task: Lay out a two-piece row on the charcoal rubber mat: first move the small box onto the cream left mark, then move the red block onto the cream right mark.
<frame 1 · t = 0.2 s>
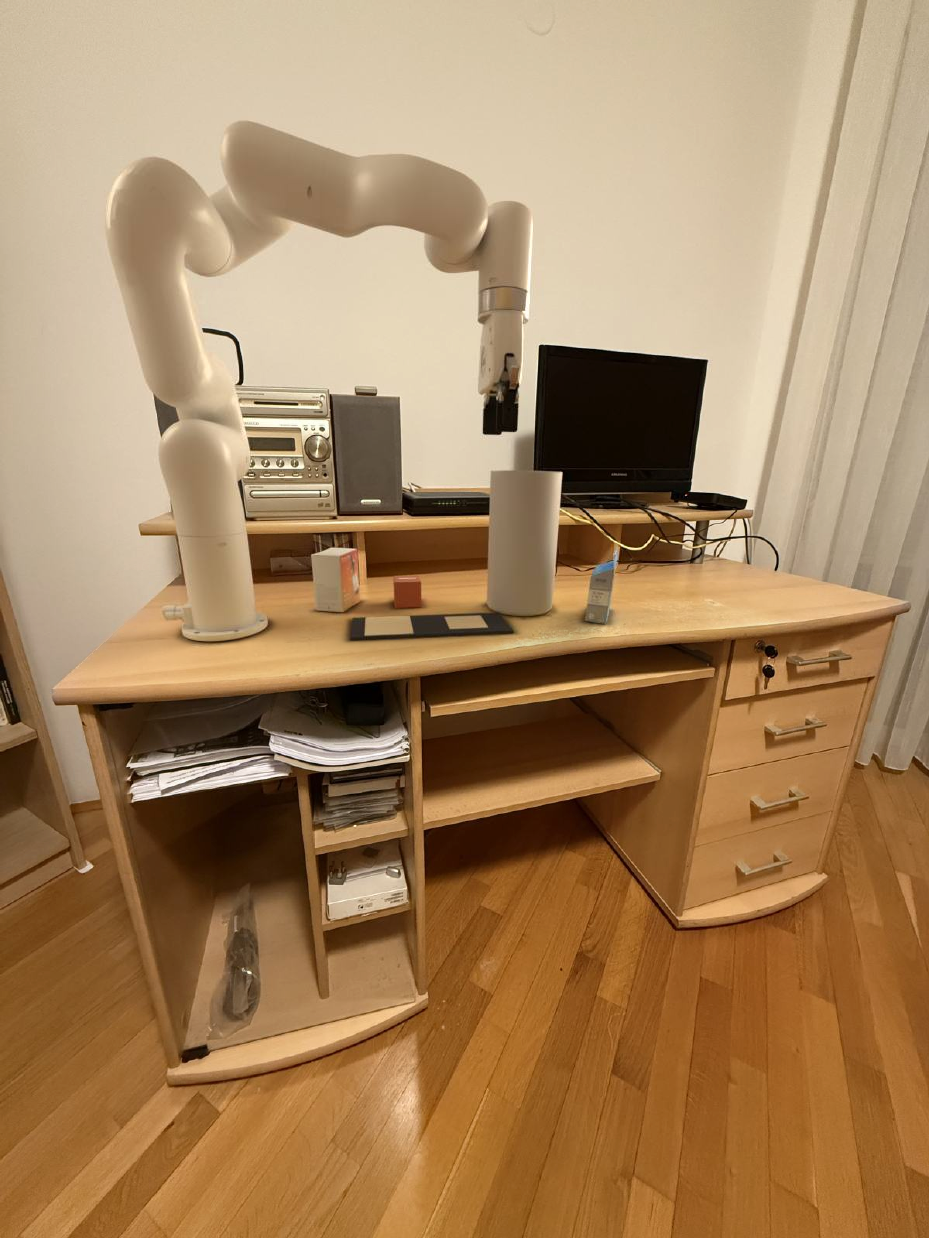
hand: (498, 433, 78), 31 cm above the table, tool pointing down, fingers open, 9 cm apart
mat: (430, 626, 82), on the table
red block: (407, 603, 95), on the table
label tape box: (598, 617, 89), on the table
small box: (338, 607, 93), on the table
cylinder vase: (519, 608, 94), on the table
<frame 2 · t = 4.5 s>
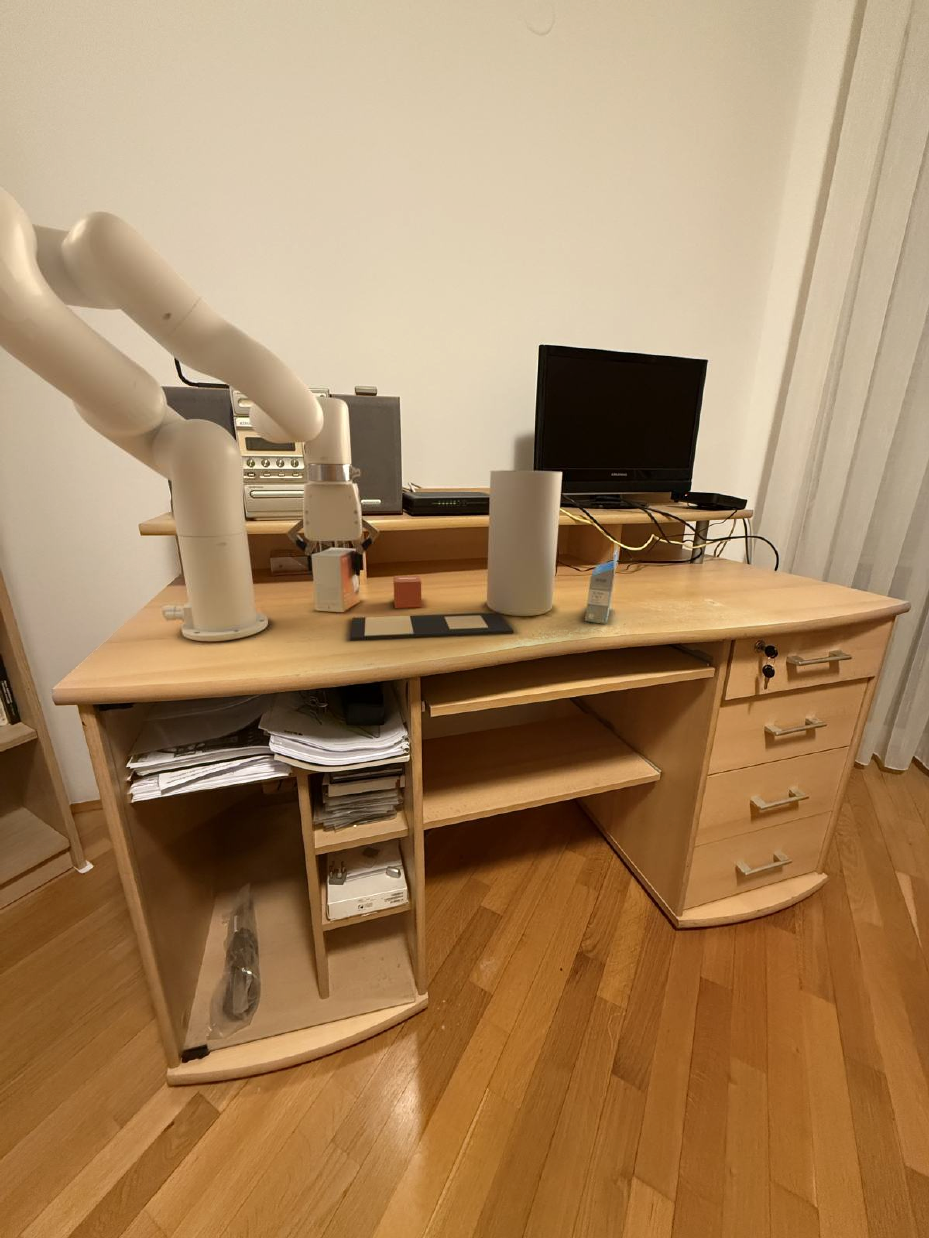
hand: (336, 574, 91), 6 cm above the table, tool pointing down, fingers closed on small box, 7 cm apart
small box: (338, 607, 93), on the table, touching gripper
everything else where it was.
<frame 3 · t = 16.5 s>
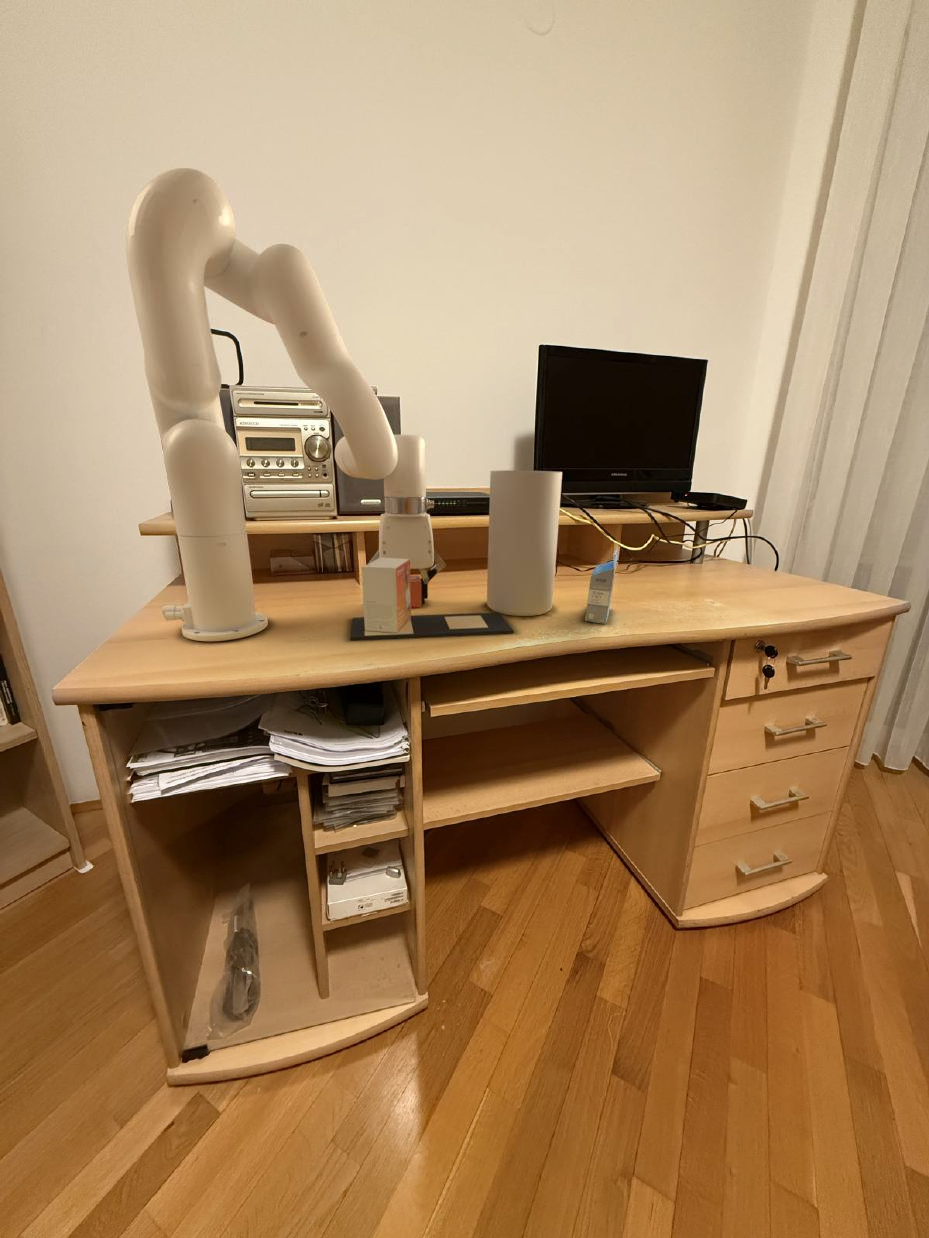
hand: (407, 601, 95), 0 cm above the table, tool pointing down, fingers closed on red block, 5 cm apart
red block: (407, 603, 95), on the table, touching gripper
small box: (389, 625, 81), resting on mat
everything else where it was.
when the fingers open (1 cm above the table, at t = 23.7 s): red block stays where it is, resting on mat.
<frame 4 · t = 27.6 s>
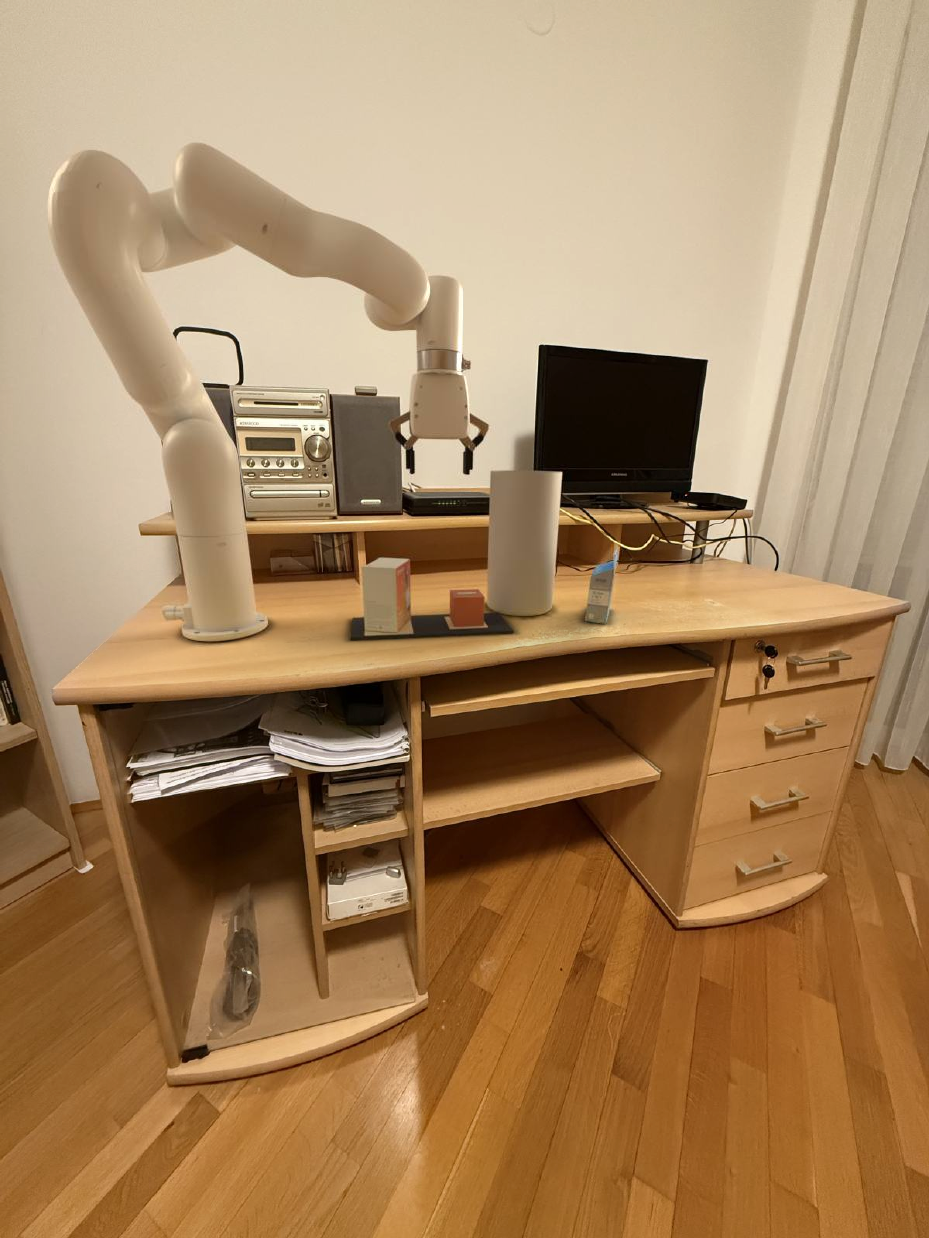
hand: (439, 474, 86), 24 cm above the table, tool pointing down, fingers open, 9 cm apart
red block: (466, 621, 83), point 1 cm above the table, touching mat
everything else where it was.
at the end: small box 0.1 cm from the target spot, resting on mat; red block 0.1 cm from the target spot, point 0.6 cm above the table; small box tilted 0° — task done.
